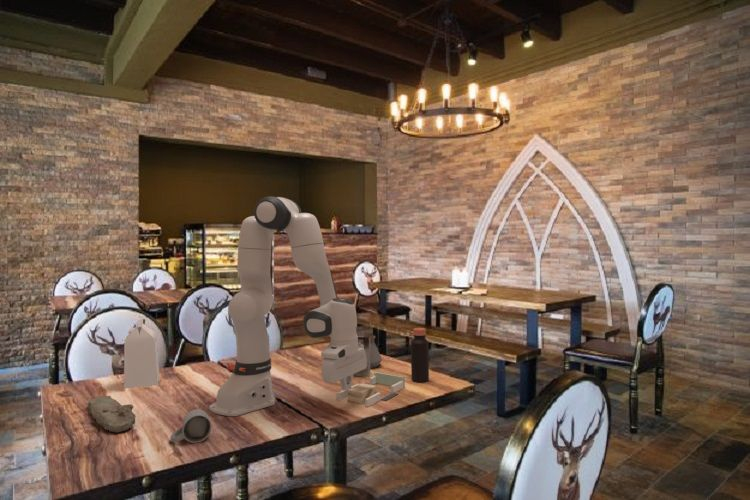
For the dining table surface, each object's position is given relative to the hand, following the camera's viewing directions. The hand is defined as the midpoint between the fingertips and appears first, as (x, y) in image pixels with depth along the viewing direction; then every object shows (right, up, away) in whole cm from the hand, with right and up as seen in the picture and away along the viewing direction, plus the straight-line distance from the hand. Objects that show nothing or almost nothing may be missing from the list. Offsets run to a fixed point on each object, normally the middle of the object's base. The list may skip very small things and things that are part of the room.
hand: (346, 389), depth 158 cm
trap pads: (+9, -5, +15) cm, 18 cm away
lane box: (+8, -6, +13) cm, 17 cm away
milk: (-81, -7, +29) cm, 86 cm away
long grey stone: (-75, -8, -5) cm, 76 cm away
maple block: (+5, -6, +8) cm, 11 cm away
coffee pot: (+4, -5, +54) cm, 55 cm away
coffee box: (+3, -5, +38) cm, 38 cm away
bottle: (+27, -5, +28) cm, 40 cm away
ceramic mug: (-42, -8, -23) cm, 49 cm away
